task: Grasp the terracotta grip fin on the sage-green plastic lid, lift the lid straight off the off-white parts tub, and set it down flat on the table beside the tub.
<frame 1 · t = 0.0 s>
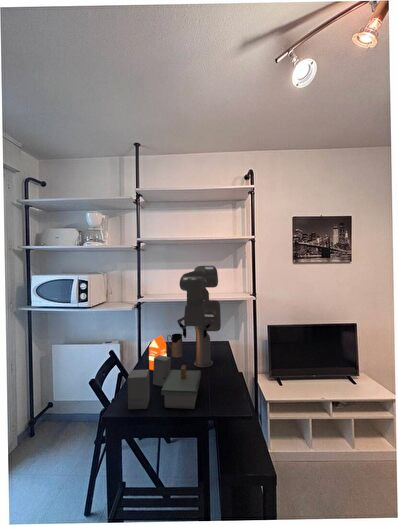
hand: (194, 337, 124), 31 cm above the table, tool pointing down, fingers open, 9 cm apart
parts tub: (182, 396, 128), on the table
brown pitcher: (174, 354, 187), on the table
orange juice: (158, 368, 164), on the table
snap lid: (182, 381, 128), point 8 cm above the table, touching parts tub
supplement box: (139, 404, 122), on the table
skincare box: (162, 383, 142), on the table
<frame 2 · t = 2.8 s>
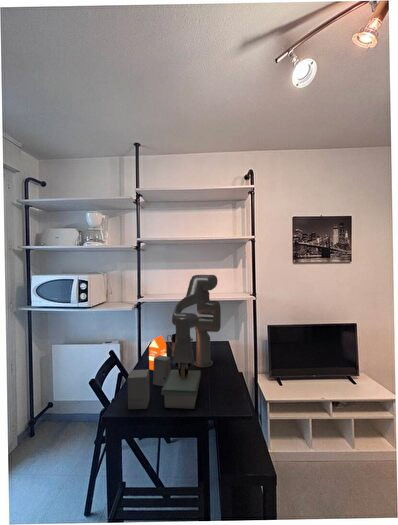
hand: (183, 375, 131), 10 cm above the table, tool pointing down, fingers closed on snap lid
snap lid: (182, 381, 128), point 8 cm above the table, touching gripper
everything else where it was.
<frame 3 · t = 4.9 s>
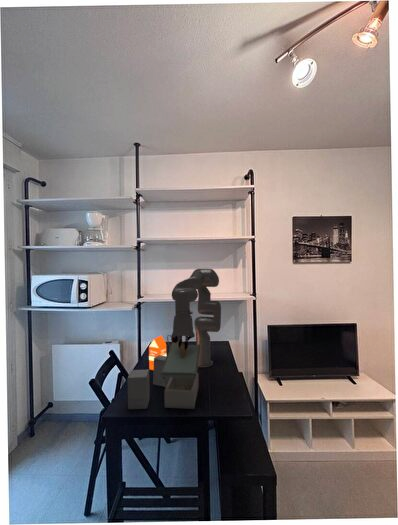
hand: (183, 348, 131), 23 cm above the table, tool pointing down, fingers closed on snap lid
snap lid: (182, 359, 127), point 19 cm above the table, tilted 17°, touching gripper
everything else where it was.
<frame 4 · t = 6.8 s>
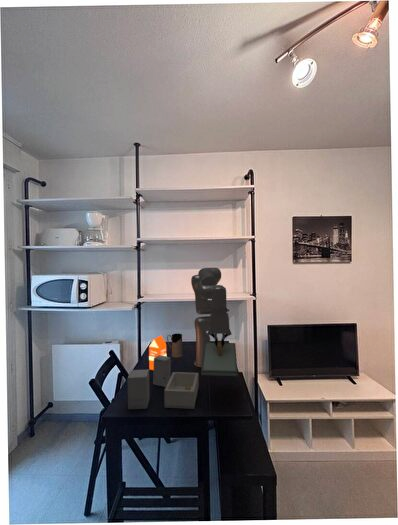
hand: (219, 346, 129), 25 cm above the table, tool pointing down, fingers closed on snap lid
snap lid: (219, 357, 125), point 21 cm above the table, tilted 16°, touching gripper
everything else where it was.
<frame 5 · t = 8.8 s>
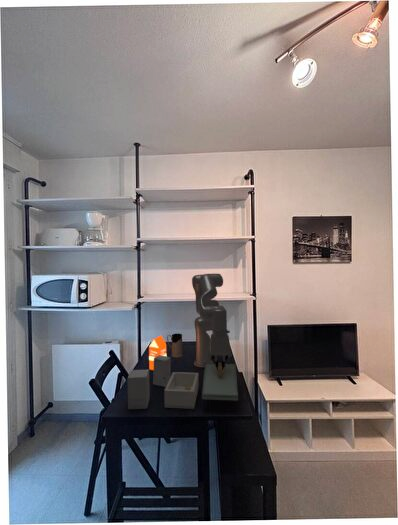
hand: (220, 368, 129), 14 cm above the table, tool pointing down, fingers closed on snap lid
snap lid: (220, 379, 125), point 10 cm above the table, tilted 15°, touching gripper
everything else where it was.
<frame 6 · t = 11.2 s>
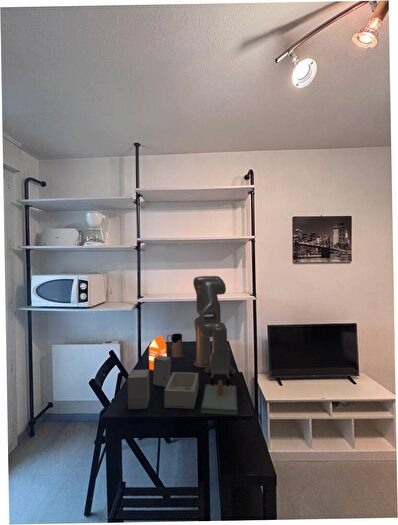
hand: (220, 385, 129), 5 cm above the table, tool pointing down, fingers open, 7 cm apart
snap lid: (220, 397, 124), point 1 cm above the table
everything else where it was.
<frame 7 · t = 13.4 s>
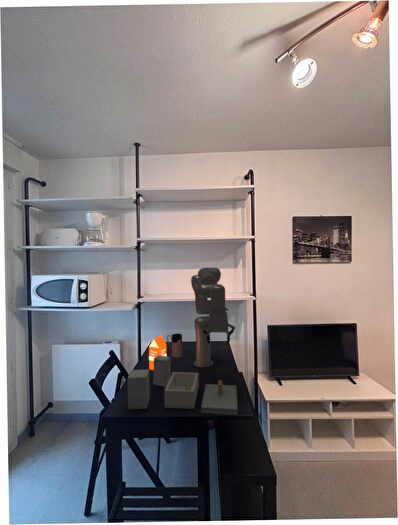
hand: (218, 342, 130), 26 cm above the table, tool pointing down, fingers open, 9 cm apart
nothing on the table moved.
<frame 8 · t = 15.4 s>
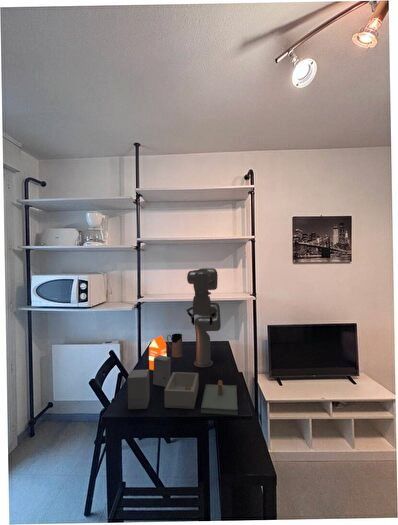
hand: (202, 324, 141), 33 cm above the table, tool pointing down, fingers open, 9 cm apart
nothing on the table moved.
at the end: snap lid touching table; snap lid inside the target area (2.1 cm from its centre), point 1.5 cm above the table; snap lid tilted 0° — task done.
